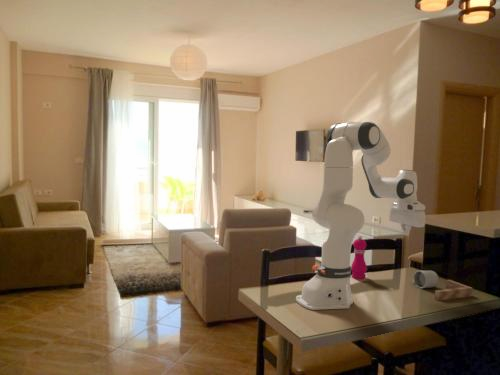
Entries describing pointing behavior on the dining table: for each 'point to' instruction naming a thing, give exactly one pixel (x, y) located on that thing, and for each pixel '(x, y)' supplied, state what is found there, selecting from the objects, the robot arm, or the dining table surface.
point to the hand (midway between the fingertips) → (405, 233)
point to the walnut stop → (453, 291)
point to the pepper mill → (359, 259)
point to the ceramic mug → (425, 279)
